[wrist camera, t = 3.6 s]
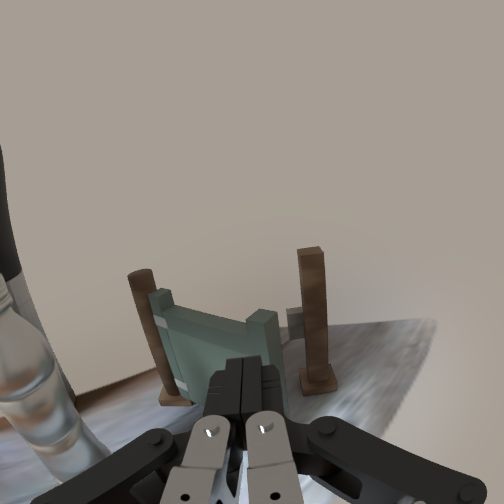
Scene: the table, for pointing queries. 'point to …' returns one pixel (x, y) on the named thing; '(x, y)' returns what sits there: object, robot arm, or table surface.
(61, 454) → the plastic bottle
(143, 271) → the hinge post
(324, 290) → the post
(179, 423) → the table surface
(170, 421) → the table surface
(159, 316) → the gate
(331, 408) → the table surface
